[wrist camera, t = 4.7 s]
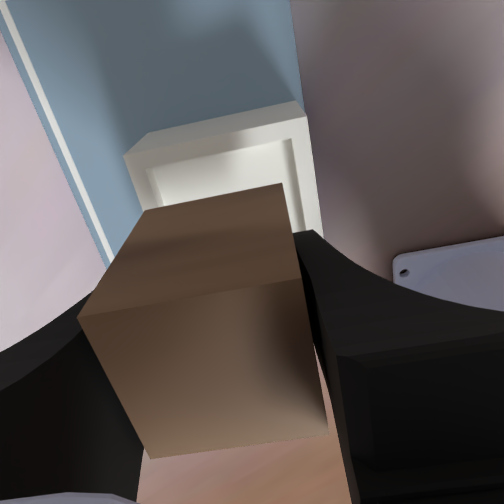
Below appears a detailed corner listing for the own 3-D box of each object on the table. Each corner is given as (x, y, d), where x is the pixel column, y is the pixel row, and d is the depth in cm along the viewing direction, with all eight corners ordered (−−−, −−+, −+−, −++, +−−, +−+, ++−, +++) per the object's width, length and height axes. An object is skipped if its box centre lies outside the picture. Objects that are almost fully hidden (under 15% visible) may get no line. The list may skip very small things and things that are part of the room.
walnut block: (303, 299, 13) (329, 434, 8) (184, 319, 13) (150, 458, 9) (282, 182, 11) (301, 277, 7) (144, 210, 11) (76, 317, 7)
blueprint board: (322, 248, 21) (340, 302, 17) (123, 284, 22) (92, 343, 18) (274, -87, 14) (284, -139, 10) (-5, -13, 15) (-102, -32, 11)
